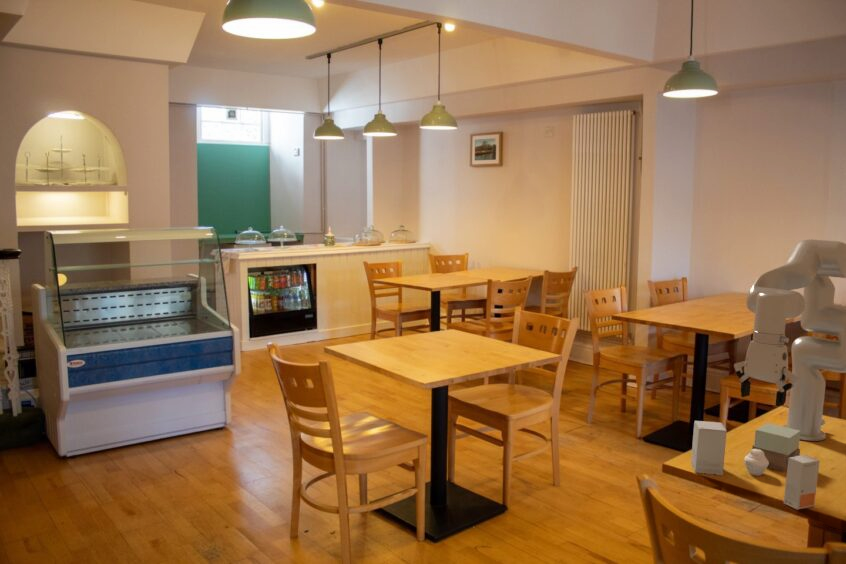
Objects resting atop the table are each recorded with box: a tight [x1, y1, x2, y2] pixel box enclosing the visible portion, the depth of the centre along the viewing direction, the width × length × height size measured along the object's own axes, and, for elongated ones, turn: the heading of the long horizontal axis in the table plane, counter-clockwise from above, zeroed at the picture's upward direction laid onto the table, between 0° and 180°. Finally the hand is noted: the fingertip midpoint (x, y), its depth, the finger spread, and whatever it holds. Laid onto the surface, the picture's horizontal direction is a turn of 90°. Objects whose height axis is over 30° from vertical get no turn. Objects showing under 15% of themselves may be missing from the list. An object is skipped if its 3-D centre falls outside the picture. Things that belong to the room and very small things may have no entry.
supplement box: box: [690, 420, 727, 476], centre depth 200 cm, size 7×7×13 cm
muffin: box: [743, 449, 769, 477], centre depth 199 cm, size 6×6×7 cm
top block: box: [753, 422, 801, 455], centre depth 206 cm, size 9×9×5 cm
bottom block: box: [751, 444, 801, 473], centre depth 207 cm, size 9×9×5 cm
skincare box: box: [783, 454, 821, 511], centre depth 179 cm, size 6×4×12 cm
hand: (762, 400), depth 196 cm, fingers open, 9 cm apart
